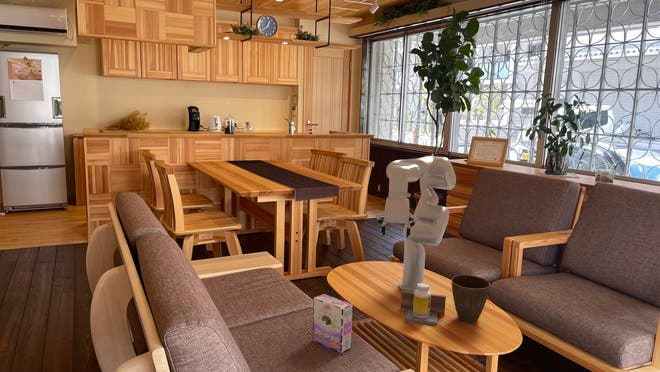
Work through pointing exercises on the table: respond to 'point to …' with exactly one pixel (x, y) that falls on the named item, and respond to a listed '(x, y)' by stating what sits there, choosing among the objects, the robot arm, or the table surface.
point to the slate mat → (430, 320)
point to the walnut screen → (435, 305)
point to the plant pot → (469, 296)
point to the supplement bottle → (422, 301)
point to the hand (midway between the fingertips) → (395, 235)
